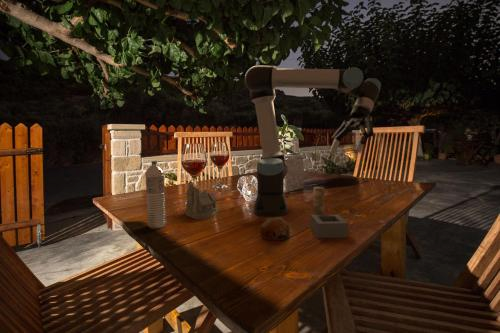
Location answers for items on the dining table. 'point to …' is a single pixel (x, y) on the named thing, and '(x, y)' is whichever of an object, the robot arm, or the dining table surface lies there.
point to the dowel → (318, 201)
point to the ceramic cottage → (200, 203)
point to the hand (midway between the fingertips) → (344, 152)
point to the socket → (329, 226)
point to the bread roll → (275, 229)
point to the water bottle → (155, 196)
